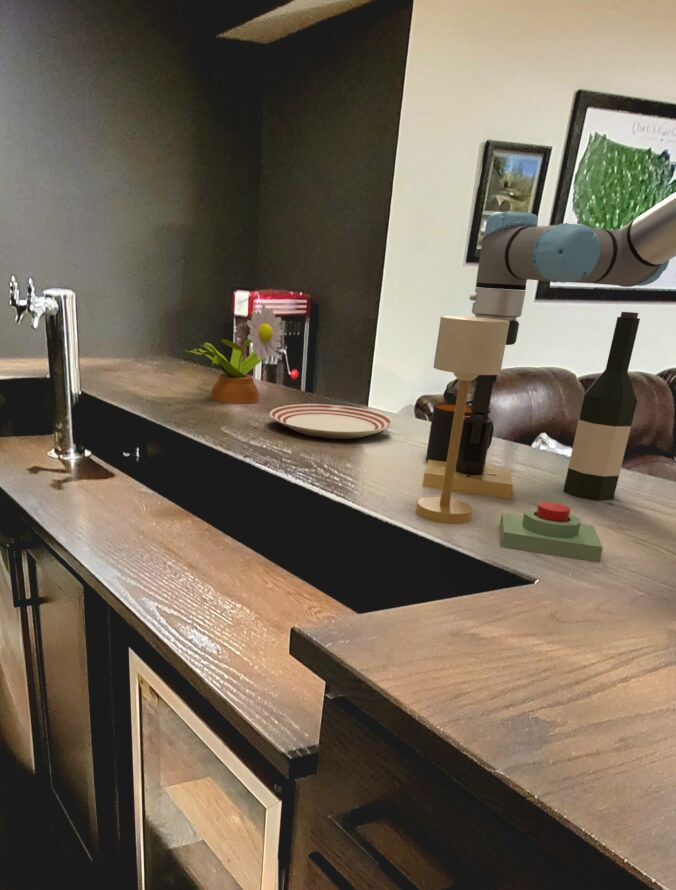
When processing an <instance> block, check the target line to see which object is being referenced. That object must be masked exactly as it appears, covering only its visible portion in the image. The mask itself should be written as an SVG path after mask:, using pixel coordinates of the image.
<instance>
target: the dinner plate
mask: <svg viewBox="0 0 676 890" xmlns="http://www.w3.org/2000/svg"><path fill="white" fill-rule="evenodd" d="M268 415H269V417H270V419H272V420H274V421H275V422H277V423H279V424H281V425H282V426H284V427H287V428H289V429H290V430H292V431H294V432H296V433H299V434H302V435H306V436H311V437H315V438H324V439H336V440H345V439H346V440H350V439H352V440H353V439H360V438H365V437H367V436H371V435H374V434H379V433H381V432H385V431H386V430H388V429H390V428H392V427H393V426H394V423H395V422H394V420H393V418H391V417H390V416H388V415H387V414H384V413H382V412H379V411H376V410H372V409H367V408H362V407H355V406H348V405H339V404H337V405H336V404H323V403H303V404H302V403H301V404H300V403H299V404H290V405H289V404H288V405H283V406H279V407H276V408H273V409H272V410H271V411H270V412H269V414H268Z"/></svg>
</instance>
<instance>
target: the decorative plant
mask: <svg viewBox="0 0 676 890" xmlns="http://www.w3.org/2000/svg"><path fill="white" fill-rule="evenodd" d="M251 315H252V316H251V318H250V320H246V324H247V326H248V328H249V329H250V330H249V333H248V335H247V339H246V341H245V342H244V344H243V346H240V345H239V344H237V343H235V342H233V341H231V340H229V339H225V338H220V341H221V343H223V344H225V345H226V346H228V347H230V348H232V352H231V357H230V362H229V361H228V359H227V358H226V357H225V355H223V354H222V353H221V352H219V351H218V350H217V349H216V348H215V346H213V344H211V343H209V342H206V341H205V342H204V343H203V344H199V346H200V347H201V348H194V349H192V350H187V349H184V351H185V353H192V354H194V355H196V356H197V355H198V356H199V355H200V356H201V355H204V356H205V357H206V358H208V359H209V360H210V361H211V362H212V363H211V364H210V367H213V366H215V365H216V366H217V367H218V368H219V369H220V370H221V371H222V372H223V373H221V374H219V377H218V379H217V381H216V382H215V383H214V384H213V386H212V388H211V393H210V395H209V398H210V399H211V400H213V401H217V402H221V403H228V404H255V403H258V402H260V397H259V390H258V387H257V385H256V383H255V382H254V379H253V376H251V375H247V374H248V373H250V371H252V370H253V369H254V368H255V367H256V366H257V365H258V364H260V363H261V362H262V361H264V360H265V362H268V361H269V357H270V358H271V357H275V358H276V357H277V351H278V348H282V344H281V339H282V337H281V336H282V335H283V334H284V331H283V330H282V329H281V328H282V325H281V324H280V323H281V321H282V317H281V316H276V314H275V313H274V308H273V307H271V308H268V307H266V305H265V303H263V304H262V305H261V309H260V310H257V311H256V310H255V311H254V310H252V311H251ZM251 344H252V346H251V350H252V352H250V354H249V355H248V356H247V357H246V358H245V359H244V360H243V354H244V351H245V348H247V347H248V346H249V345H251ZM202 348H204V349H207V350H203V349H202Z"/></svg>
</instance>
